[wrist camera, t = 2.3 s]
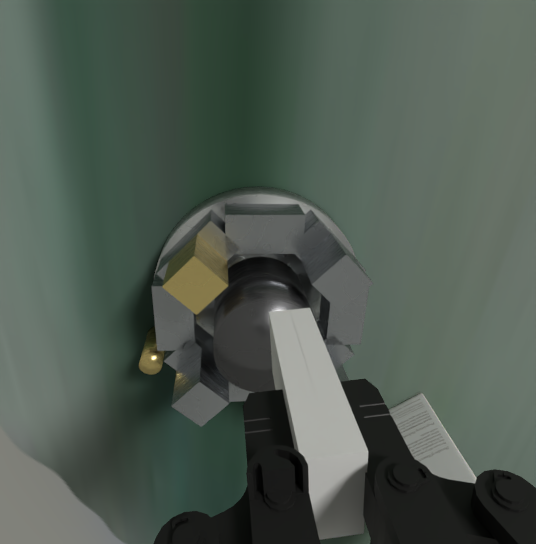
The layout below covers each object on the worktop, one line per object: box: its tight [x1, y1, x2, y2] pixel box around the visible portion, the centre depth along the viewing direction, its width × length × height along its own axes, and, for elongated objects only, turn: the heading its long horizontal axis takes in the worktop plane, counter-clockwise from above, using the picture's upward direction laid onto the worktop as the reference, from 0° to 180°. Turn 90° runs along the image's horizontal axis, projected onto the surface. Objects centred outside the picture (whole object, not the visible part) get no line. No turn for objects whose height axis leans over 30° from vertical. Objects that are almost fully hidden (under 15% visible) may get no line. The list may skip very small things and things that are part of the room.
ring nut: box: [151, 204, 373, 427], centre depth 27 cm, size 14×14×6 cm
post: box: [139, 327, 165, 375], centre depth 32 cm, size 2×2×4 cm
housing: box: [154, 186, 355, 392], centre depth 29 cm, size 15×15×9 cm
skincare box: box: [389, 393, 477, 483], centre depth 34 cm, size 8×7×16 cm
